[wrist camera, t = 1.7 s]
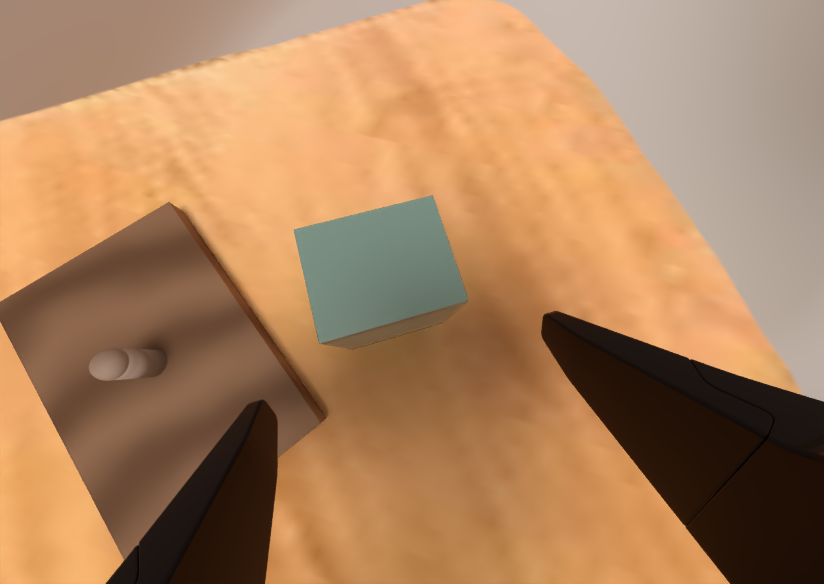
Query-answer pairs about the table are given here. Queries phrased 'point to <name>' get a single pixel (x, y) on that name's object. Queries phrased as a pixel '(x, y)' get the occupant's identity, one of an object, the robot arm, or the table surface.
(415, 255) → the seafoam square prism
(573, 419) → the table surface
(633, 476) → the table surface
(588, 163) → the table surface
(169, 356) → the stud board
